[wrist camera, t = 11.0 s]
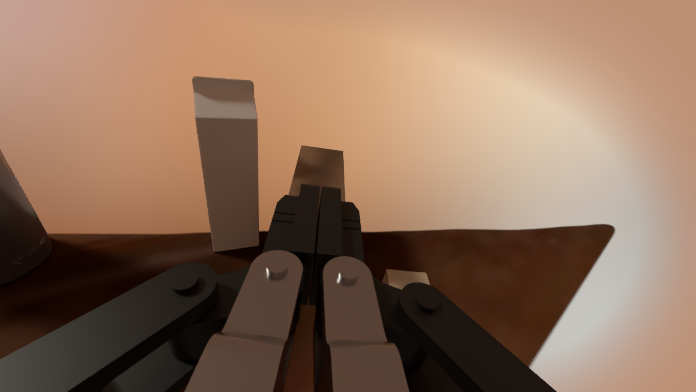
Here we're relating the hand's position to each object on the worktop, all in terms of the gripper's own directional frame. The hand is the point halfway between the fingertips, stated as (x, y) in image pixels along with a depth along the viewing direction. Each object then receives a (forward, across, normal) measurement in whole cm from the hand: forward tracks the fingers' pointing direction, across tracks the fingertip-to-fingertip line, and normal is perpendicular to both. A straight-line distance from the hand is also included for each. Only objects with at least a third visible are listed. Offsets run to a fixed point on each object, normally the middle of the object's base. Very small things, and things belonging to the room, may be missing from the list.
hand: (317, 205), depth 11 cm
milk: (+23, +11, +24) cm, 35 cm away
